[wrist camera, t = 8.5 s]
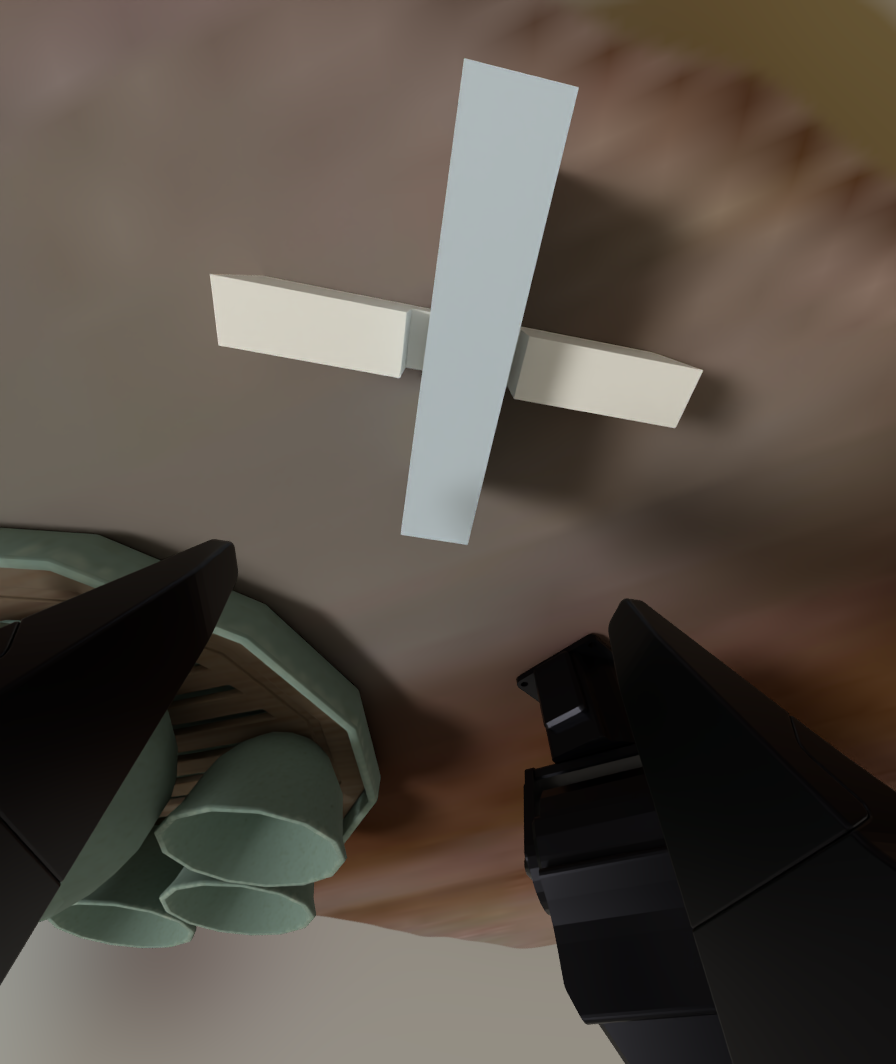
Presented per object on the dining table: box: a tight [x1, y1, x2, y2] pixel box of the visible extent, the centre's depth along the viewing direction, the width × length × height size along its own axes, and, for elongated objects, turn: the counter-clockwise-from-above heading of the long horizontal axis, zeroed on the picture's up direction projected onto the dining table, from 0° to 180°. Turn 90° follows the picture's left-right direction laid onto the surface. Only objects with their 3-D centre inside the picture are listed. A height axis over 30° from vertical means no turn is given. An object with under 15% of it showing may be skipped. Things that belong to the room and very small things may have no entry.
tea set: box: [0, 528, 381, 948], centre depth 25 cm, size 40×40×16 cm
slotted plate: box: [401, 58, 579, 545], centre depth 14 cm, size 12×2×6 cm, turn 170°
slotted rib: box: [210, 274, 703, 428], centre depth 15 cm, size 16×2×4 cm, turn 80°
